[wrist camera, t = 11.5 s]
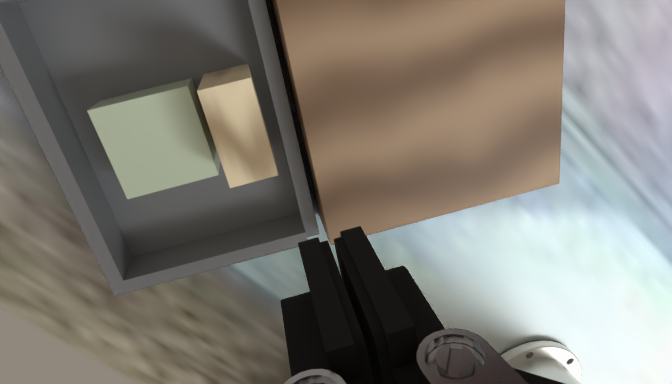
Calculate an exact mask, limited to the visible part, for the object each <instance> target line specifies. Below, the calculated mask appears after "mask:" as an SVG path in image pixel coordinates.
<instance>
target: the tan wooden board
mask: <svg viewBox="0 0 672 384" xmlns="http://www.w3.org/2000/svg"><path fill="white" fill-rule="evenodd" d="M270 2H271V6H272V10H273V15H274V19H275V24H276V28H277V32H278V37H279V41H280V45H281V50H282V54H283V59H284V63H285V67H286V72H287V76H288V81H289V85H290V89H291V94H292V98H293V103H294V107H295V111H296V116H297V120H298V125H299V129H300V133H301V138H302V142H303V146H304V151H305V155H306V160H307V164H308V168H309V173H310V177H311V182H312V186H313V190H314V195H315V199H316V204H317V208H318V212H319V216H320V219H321V221H322V224H323V226H324V229H325V232H326V234H327V237H328V239H329V242H330V244H331V245H334V239H335V238H339V237H341V236H340V231H343V230H347V229H351V228H355V227H358V226H361V228H362V229H363V231H364V233H365V235H366V236H367V235H371V234H374V233H378V232H382V231H385V230H389V229H393V228H396V227H400V226H404V225H407V224H411V223H415V222H418V221H422V220H426V219H430V218H433V217H437V216H441V215H444V214H448V213H452V212H455V211H459V210H463V209H466V208H470V207H474V206H478V205H481V204H485V203H489V202H492V201H496V200H500V199H503V198H507V197H511V196H514V195H518V194H522V193H526V192H529V191H533V190H537V189H540V188H544V187H548V186H551V185H555V184H559V177H560V146H561V115H562V84H563V53H564V22H565V0H270Z"/></svg>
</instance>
